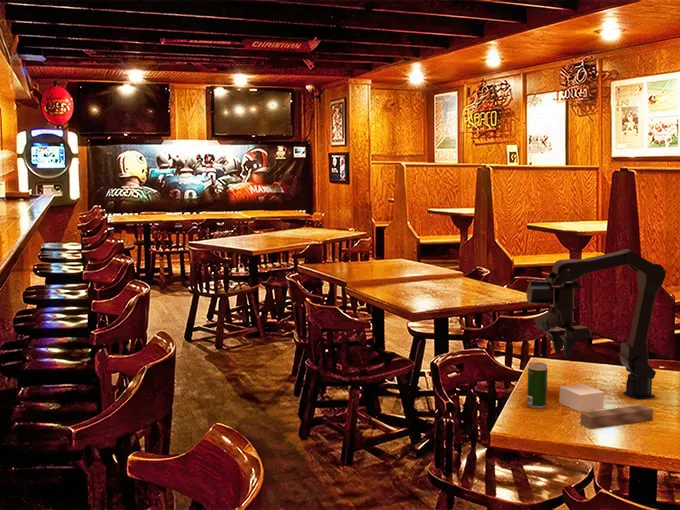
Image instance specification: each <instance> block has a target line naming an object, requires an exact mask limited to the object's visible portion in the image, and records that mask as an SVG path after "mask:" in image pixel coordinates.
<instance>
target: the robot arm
mask: <svg viewBox="0 0 680 510" xmlns="http://www.w3.org/2000/svg"><path fill="white" fill-rule="evenodd" d="M625 265H626V266H628V267H629V268H630V269H631V270H633V271H634V272H636V283H637V289H638V294H637V299H636V304H635V308H634V314H633V318H632V319H633V320H632V324H631V331H630V336H629V338H628V340H627V341H626V342H621V343H620V351H619V353H618V356H619V360H620V361H619V362H621V365H622V366H624V367H625V370H626V372H629V374H627V379H626V382H625V383H626V387H625V389H626V390H623V392H622V393H623V394H625V395H626V396H629V397H632V398H634V399H636V400H643V399H649V398H650V399H651V398H655V397H656V394H653V393H652V387H653V379H654V378H655V376H656V375H657V371H656V370H654V368H653V367H652V366H650V364H649V350H648V344H647V340H648V336H649V330H650V326H651V325H650V324H651V321H652V316H653V311H654V310H653V309H654V306H655V301H656V300H655V299H656V296H657V294H658V292H659V291H660V290H661V288H662V286H663V284H664V282H665V279H666V276H667V271H666V269H665V268H664V265H663V266H662V265H661V264H658V263H656V262H653V261H649V260H647V259H645V258H643V257H642V256H640V255H639V254H637V253H636V252H635V251H633V250H630V249H627V248H626V249H621V250H619V251H618V250H617V251H614V252H610V253H605V254H601V255H596V256H593V257H592V256H591V257H587V258H580V259H579V258H578V259H577V258H569V259H568V258H567V259H559V260H556V261H555V262H554V264H553V266H552V268H551V269H552V270H551V271H550V273H549V274H548V275H547V276H546V277H545V278H544V280H536V279H535V280H534V279H531V280H529V282H528V285H527V289H526V301H527V303H528V304H529V305H539V304H542V305H546V304H548V305H550V304H551V303H550V302H553V304H552V305H551V306H549V307H548V308H549V311H547V312H545V313H543V314H541V315H539V316H538V317H535V318H534V322H535V325H536V329H537V330H540V331H543V332H544V333H546V334H547V335H548V336H549V337H550V341H551V342H552V346H553V349H554V352H555V355H556V356H559V355H560V354H561V351H562V348H563V357H564V358H565V359H569V357H570V355H571V353H572V351H573V349H574V348H575V346H576V345H577V343H578V341H579V340H580V339H589V338H590V339H591V338H592V330H591V329H590V328H589V327H587V326H584V325H582V324H581V325H577V321H575V320H574V312H577V311H578V308H577V307H576V306H575V290H579V289H580V290H581V289H582V288H583V286H581V284H579V282H578V279H579V278H582V277H583V276H585V275H587V274H590V273H592V272H598V271H602V270H606V269H607V270H608V269H611V268H612V269H613V268H615V267H621V266H625Z"/></svg>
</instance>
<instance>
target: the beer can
mask: <svg viewBox="0 0 680 510" xmlns="http://www.w3.org/2000/svg"><path fill="white" fill-rule="evenodd" d="M548 369H549V368H548V365H547V363H544V362H539V361H533V362H529V363H528V366H527V382H526V388H527V389H526V404H527V407H529V408H533V409H538V410H539V409H540V410H541V409H544V408H545V409H546V406H547V395H548V392H547V391H548V371H549V370H548Z"/></svg>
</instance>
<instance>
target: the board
mask: <svg viewBox="0 0 680 510" xmlns="http://www.w3.org/2000/svg"><path fill="white" fill-rule="evenodd" d="M653 418H654V408H652V407H649V406H647V405H644V404H640V405H633V406H632V405H631V406H622V407H615V408H608V409H603V410H602V409H599V410H591V411H584V412H580V425H581V424H582V425H581V426H583V425H584V426H583V427H585V426H586V428H587V427H588V428H587V429H589V428H590V429H589V430H592V429H591V428H593V429H599V427H601V428H606V427H607V426H608V427H613V426H614V425H615V426H621V425H628V424H634V423H635V424H636V423H643V422H649V421H653Z"/></svg>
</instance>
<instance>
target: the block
mask: <svg viewBox="0 0 680 510" xmlns="http://www.w3.org/2000/svg"><path fill="white" fill-rule="evenodd" d="M604 395H605V392H604V391H602V390H600V389H597V388H594V387H593V386H590V385H587V384H585V383H579V384H578V383H577V384H568V385H567V384H566V385H560V386H559V404H562V405H563V406H565V407H568V408H571V409H572V410H574V409H575V410H574V411H576V410H577V412H578V411H579V413H582V412H581V411H583V412H589V411H588V410H591V411H597V410H596V409H598V410H602V409H603V410H604V397H605V396H604Z"/></svg>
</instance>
